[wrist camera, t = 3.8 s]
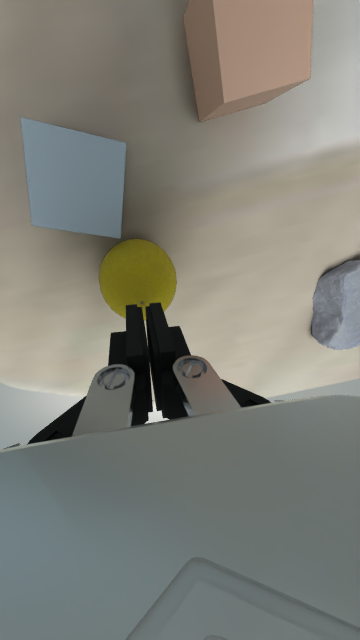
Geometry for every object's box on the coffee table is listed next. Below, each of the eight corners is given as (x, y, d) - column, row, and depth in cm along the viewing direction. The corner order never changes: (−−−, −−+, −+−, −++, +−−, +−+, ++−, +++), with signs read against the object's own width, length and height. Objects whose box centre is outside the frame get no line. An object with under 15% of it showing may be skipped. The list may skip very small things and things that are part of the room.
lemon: (89, 266, 20) (73, 308, 14) (131, 214, 19) (136, 234, 12) (140, 303, 23) (146, 354, 16) (179, 260, 22) (205, 296, 15)
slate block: (47, 133, 16) (20, 116, 11) (125, 152, 17) (126, 143, 13) (53, 215, 18) (31, 225, 14) (121, 225, 19) (120, 238, 15)
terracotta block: (182, 18, 14) (207, -50, 10) (260, -3, 15) (316, -78, 10) (199, 122, 17) (224, 103, 13) (264, 103, 17) (310, 78, 13)
